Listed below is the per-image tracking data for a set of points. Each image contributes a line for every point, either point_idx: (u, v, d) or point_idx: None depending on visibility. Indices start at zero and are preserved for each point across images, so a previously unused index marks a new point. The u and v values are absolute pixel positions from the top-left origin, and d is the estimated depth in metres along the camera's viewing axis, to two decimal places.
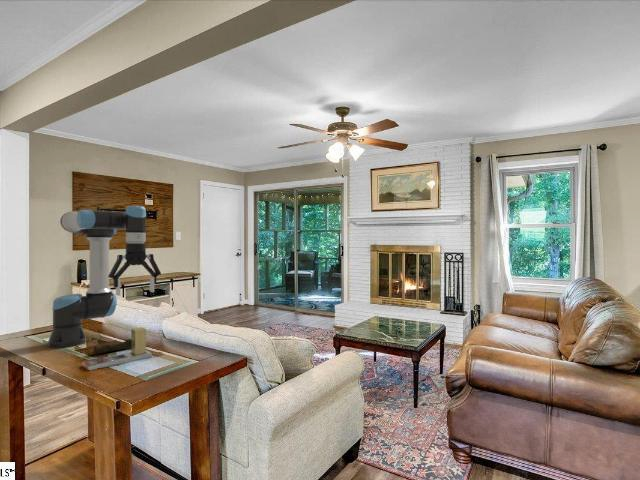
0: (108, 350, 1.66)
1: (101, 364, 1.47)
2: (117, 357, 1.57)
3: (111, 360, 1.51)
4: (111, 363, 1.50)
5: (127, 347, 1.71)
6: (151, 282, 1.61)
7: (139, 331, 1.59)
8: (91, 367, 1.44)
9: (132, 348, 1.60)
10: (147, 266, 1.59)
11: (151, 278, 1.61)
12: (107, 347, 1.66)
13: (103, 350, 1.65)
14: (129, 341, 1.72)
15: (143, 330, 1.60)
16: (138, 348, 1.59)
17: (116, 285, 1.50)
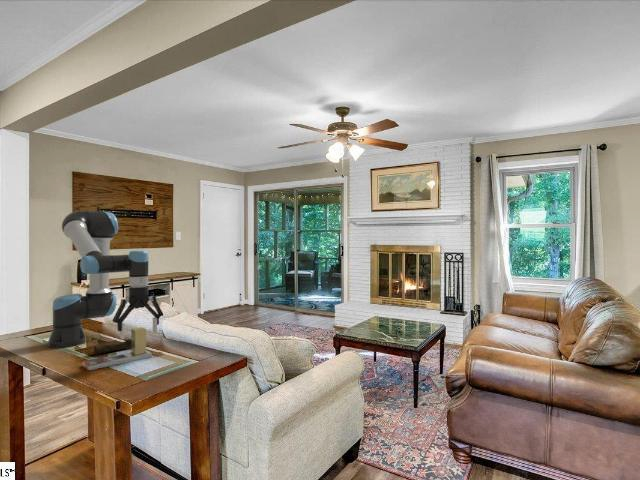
0: (108, 350, 1.66)
1: (101, 364, 1.47)
2: (117, 357, 1.57)
3: (111, 360, 1.51)
4: (111, 363, 1.50)
5: (127, 347, 1.71)
6: (154, 323, 1.65)
7: (139, 331, 1.59)
8: (91, 367, 1.44)
9: (132, 348, 1.60)
10: (150, 308, 1.63)
11: (154, 319, 1.65)
12: (107, 347, 1.66)
13: (103, 350, 1.65)
14: (129, 341, 1.72)
15: (143, 330, 1.60)
16: (138, 348, 1.59)
17: (120, 329, 1.55)
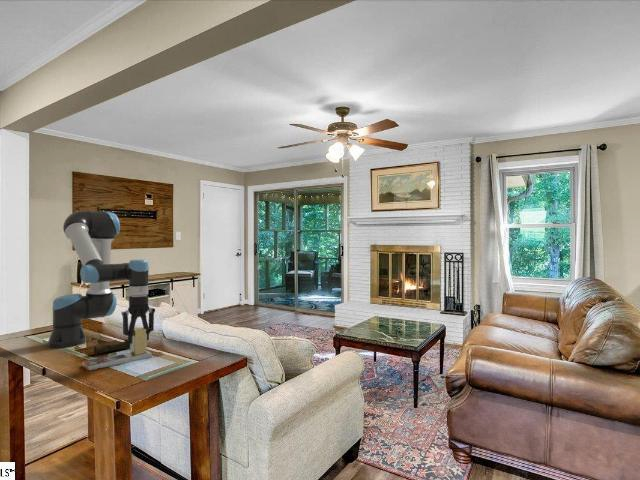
0: (108, 350, 1.66)
1: (101, 364, 1.47)
2: (117, 357, 1.57)
3: (111, 360, 1.51)
4: (111, 363, 1.50)
5: (127, 347, 1.72)
6: None
7: (139, 331, 1.59)
8: (91, 367, 1.44)
9: None
10: (145, 320, 1.62)
11: None
12: (107, 347, 1.66)
13: (103, 350, 1.65)
14: None
15: (143, 330, 1.60)
16: (138, 348, 1.59)
17: (130, 341, 1.58)
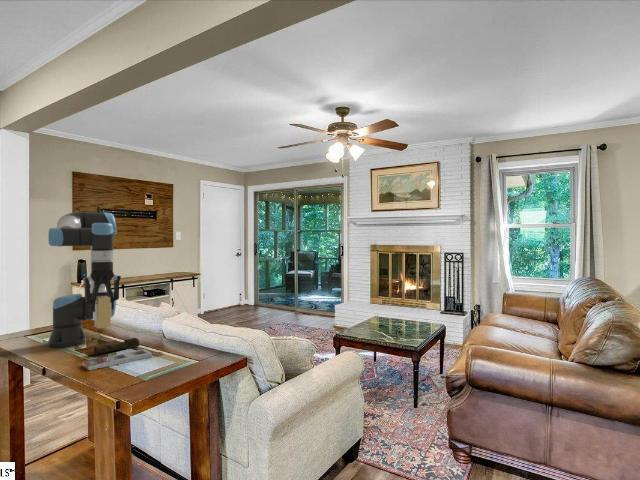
0: (108, 350, 1.66)
1: (101, 364, 1.47)
2: (117, 357, 1.57)
3: (111, 360, 1.51)
4: (111, 363, 1.50)
5: (127, 347, 1.72)
6: None
7: (103, 299, 1.49)
8: (91, 367, 1.44)
9: None
10: (109, 288, 1.52)
11: None
12: (107, 347, 1.66)
13: (104, 350, 1.65)
14: (129, 341, 1.73)
15: (107, 298, 1.50)
16: (101, 317, 1.49)
17: (93, 310, 1.48)
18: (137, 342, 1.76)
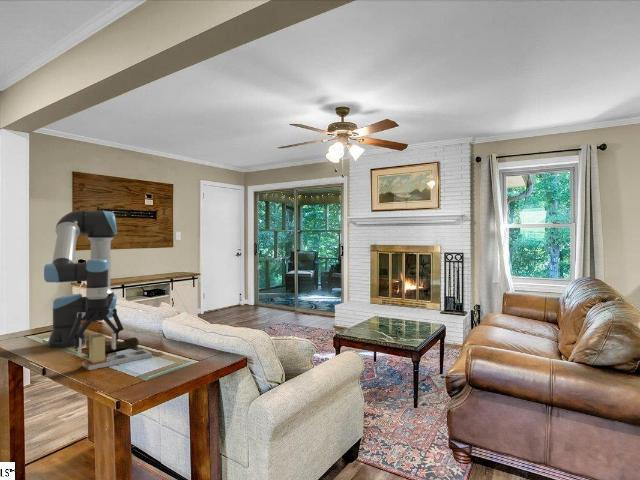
0: (109, 350, 1.66)
1: (101, 364, 1.47)
2: (117, 357, 1.57)
3: (111, 360, 1.51)
4: (111, 363, 1.50)
5: (127, 346, 1.72)
6: (112, 339, 1.53)
7: (97, 338, 1.48)
8: (91, 367, 1.44)
9: (90, 356, 1.48)
10: (109, 322, 1.52)
11: (112, 334, 1.53)
12: (108, 347, 1.66)
13: None
14: (128, 340, 1.73)
15: (102, 337, 1.49)
16: (96, 356, 1.47)
17: (77, 345, 1.44)
18: (136, 341, 1.77)
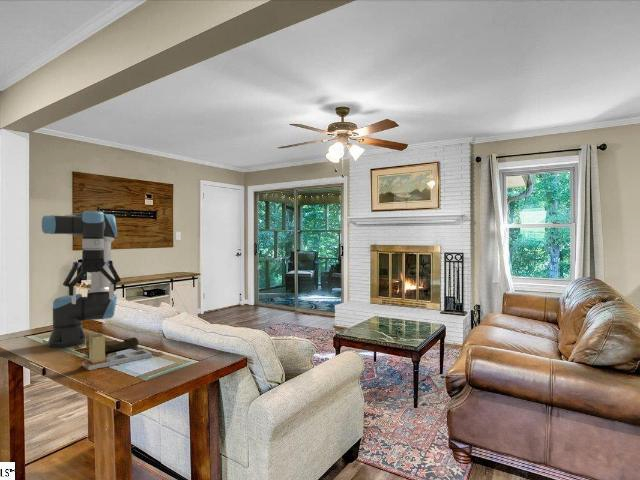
0: (109, 350, 1.66)
1: (101, 364, 1.47)
2: (117, 357, 1.57)
3: (111, 360, 1.51)
4: (111, 363, 1.50)
5: (126, 346, 1.72)
6: (110, 289, 1.56)
7: (97, 338, 1.48)
8: (91, 367, 1.44)
9: (90, 356, 1.48)
10: (105, 273, 1.54)
11: (110, 285, 1.56)
12: (108, 347, 1.66)
13: None
14: (128, 340, 1.73)
15: (102, 337, 1.49)
16: (96, 356, 1.47)
17: (71, 293, 1.46)
18: (136, 341, 1.77)
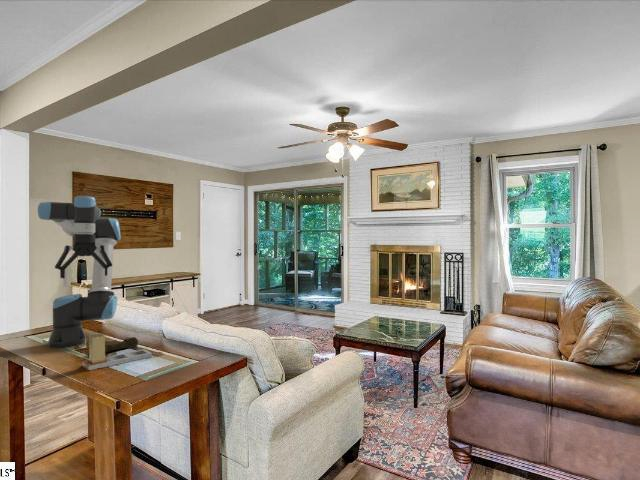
0: (109, 350, 1.66)
1: (101, 364, 1.47)
2: (117, 357, 1.57)
3: (111, 360, 1.51)
4: (111, 363, 1.50)
5: (126, 346, 1.73)
6: (102, 274, 1.59)
7: (97, 338, 1.48)
8: (91, 367, 1.44)
9: (90, 356, 1.48)
10: (97, 257, 1.57)
11: (102, 270, 1.59)
12: (108, 347, 1.66)
13: None
14: (128, 340, 1.73)
15: (102, 337, 1.49)
16: (96, 356, 1.47)
17: (63, 276, 1.48)
18: (136, 341, 1.77)
